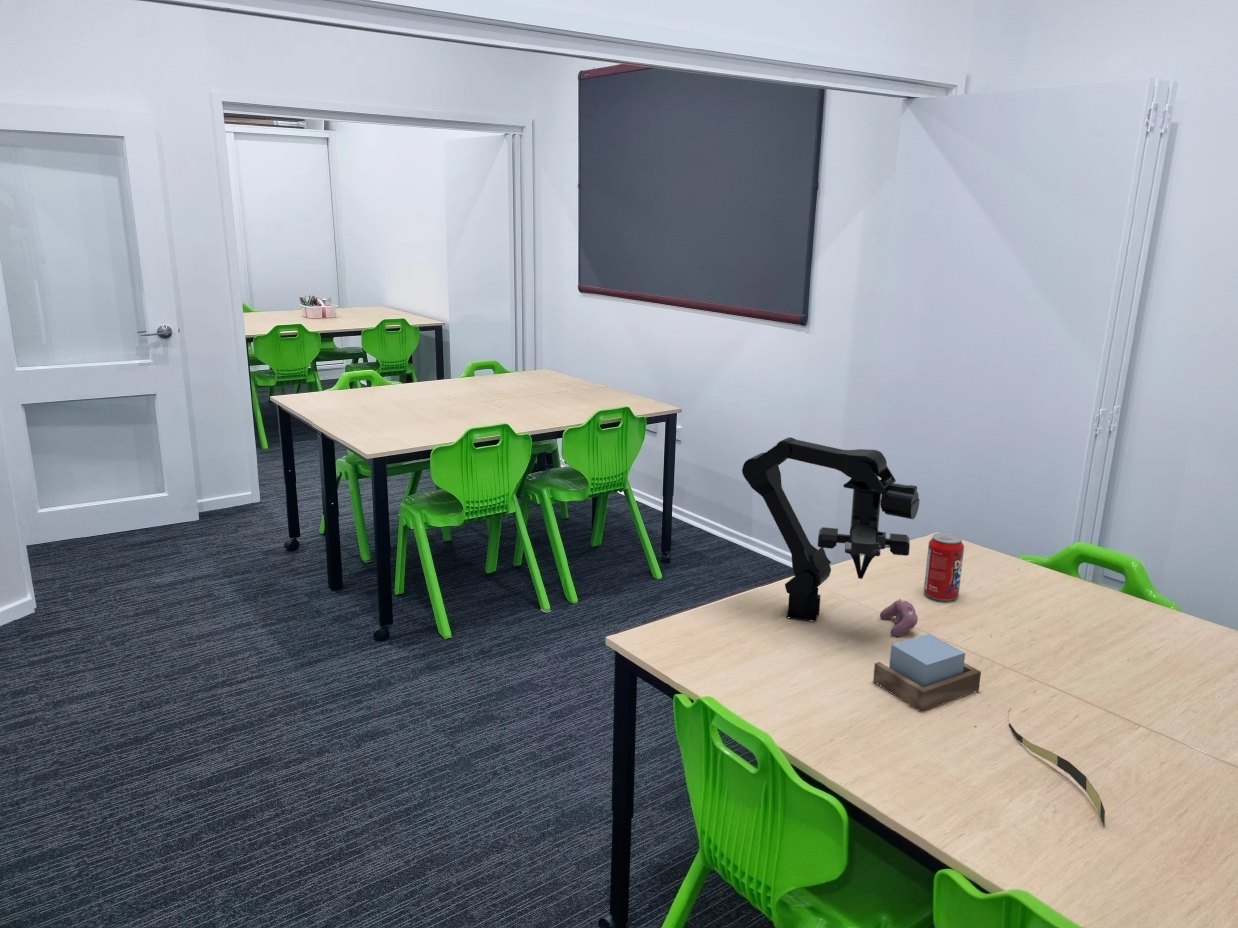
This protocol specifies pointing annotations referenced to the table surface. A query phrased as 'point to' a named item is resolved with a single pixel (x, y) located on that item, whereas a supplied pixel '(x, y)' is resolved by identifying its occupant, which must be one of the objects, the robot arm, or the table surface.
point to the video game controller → (900, 616)
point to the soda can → (944, 566)
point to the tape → (1068, 768)
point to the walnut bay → (931, 693)
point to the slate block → (926, 660)
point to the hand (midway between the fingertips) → (860, 578)
